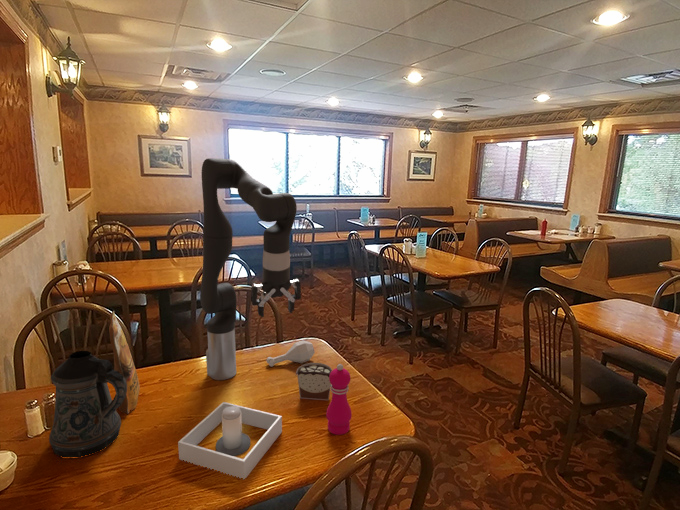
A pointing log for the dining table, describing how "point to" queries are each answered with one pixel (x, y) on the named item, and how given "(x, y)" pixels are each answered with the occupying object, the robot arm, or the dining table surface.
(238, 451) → the coaster
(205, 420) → the grey square frame
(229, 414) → the sugar shaker
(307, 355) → the chicken leg
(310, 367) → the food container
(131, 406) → the pancake mix bag
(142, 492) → the dining table surface
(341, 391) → the pepper mill
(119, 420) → the beer stein
